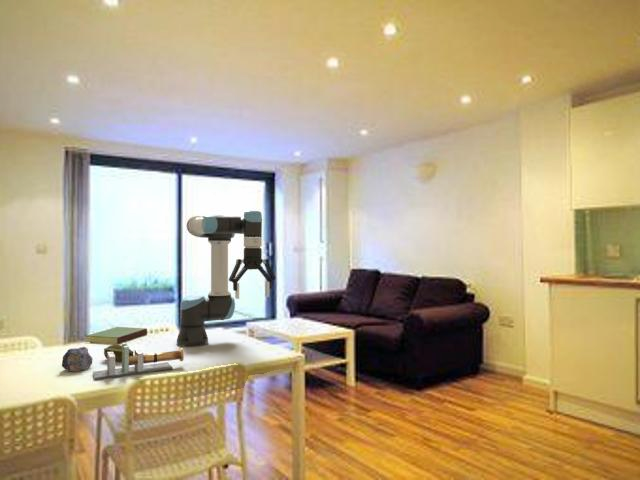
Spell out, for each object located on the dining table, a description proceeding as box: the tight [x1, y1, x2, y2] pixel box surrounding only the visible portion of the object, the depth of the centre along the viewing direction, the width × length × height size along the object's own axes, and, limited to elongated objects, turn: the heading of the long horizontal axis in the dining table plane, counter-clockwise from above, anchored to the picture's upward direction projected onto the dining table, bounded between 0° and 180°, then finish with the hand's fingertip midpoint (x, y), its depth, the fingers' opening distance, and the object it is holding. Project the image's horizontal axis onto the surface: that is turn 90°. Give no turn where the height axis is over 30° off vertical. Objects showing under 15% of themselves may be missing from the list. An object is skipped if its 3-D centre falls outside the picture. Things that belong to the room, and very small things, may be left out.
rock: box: [61, 346, 93, 373], centre depth 183 cm, size 11×10×10 cm
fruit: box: [103, 344, 134, 363], centre depth 197 cm, size 11×12×7 cm
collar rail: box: [92, 342, 173, 381], centre depth 180 cm, size 9×28×11 cm, turn 120°
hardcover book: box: [85, 326, 148, 345], centre depth 242 cm, size 25×19×4 cm
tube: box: [129, 347, 185, 366], centre depth 184 cm, size 5×21×5 cm, turn 120°
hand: (252, 297), depth 194 cm, fingers open, 13 cm apart
